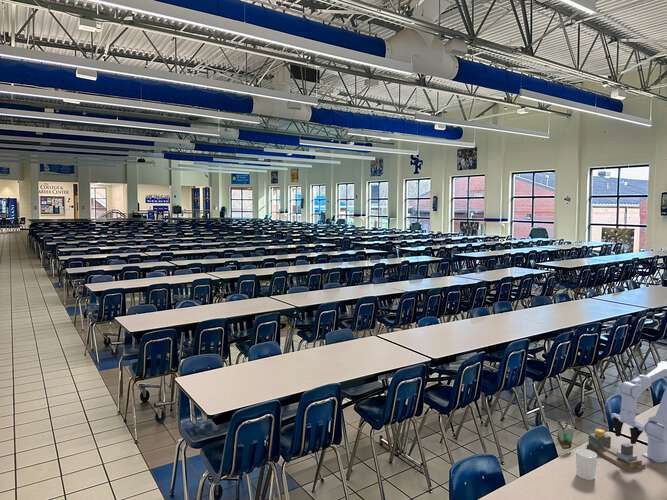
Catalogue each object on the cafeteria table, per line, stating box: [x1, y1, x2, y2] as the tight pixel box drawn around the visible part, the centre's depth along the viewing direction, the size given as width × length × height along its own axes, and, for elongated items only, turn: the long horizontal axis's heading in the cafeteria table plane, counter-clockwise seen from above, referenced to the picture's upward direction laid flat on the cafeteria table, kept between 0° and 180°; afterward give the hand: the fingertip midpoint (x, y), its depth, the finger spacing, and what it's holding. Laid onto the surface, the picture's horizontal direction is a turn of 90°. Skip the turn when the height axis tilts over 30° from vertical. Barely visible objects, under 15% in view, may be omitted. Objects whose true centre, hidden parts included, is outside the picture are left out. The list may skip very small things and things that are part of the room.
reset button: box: [594, 428, 606, 437], centre depth 226 cm, size 4×4×5 cm
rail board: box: [586, 432, 646, 472], centre depth 218 cm, size 10×22×6 cm, turn 18°
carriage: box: [616, 442, 638, 463], centre depth 212 cm, size 5×6×7 cm
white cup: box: [575, 448, 598, 481], centre depth 201 cm, size 8×8×10 cm
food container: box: [556, 419, 576, 450], centre depth 229 cm, size 12×6×10 cm, turn 168°
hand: (625, 439), depth 211 cm, fingers open, 7 cm apart
